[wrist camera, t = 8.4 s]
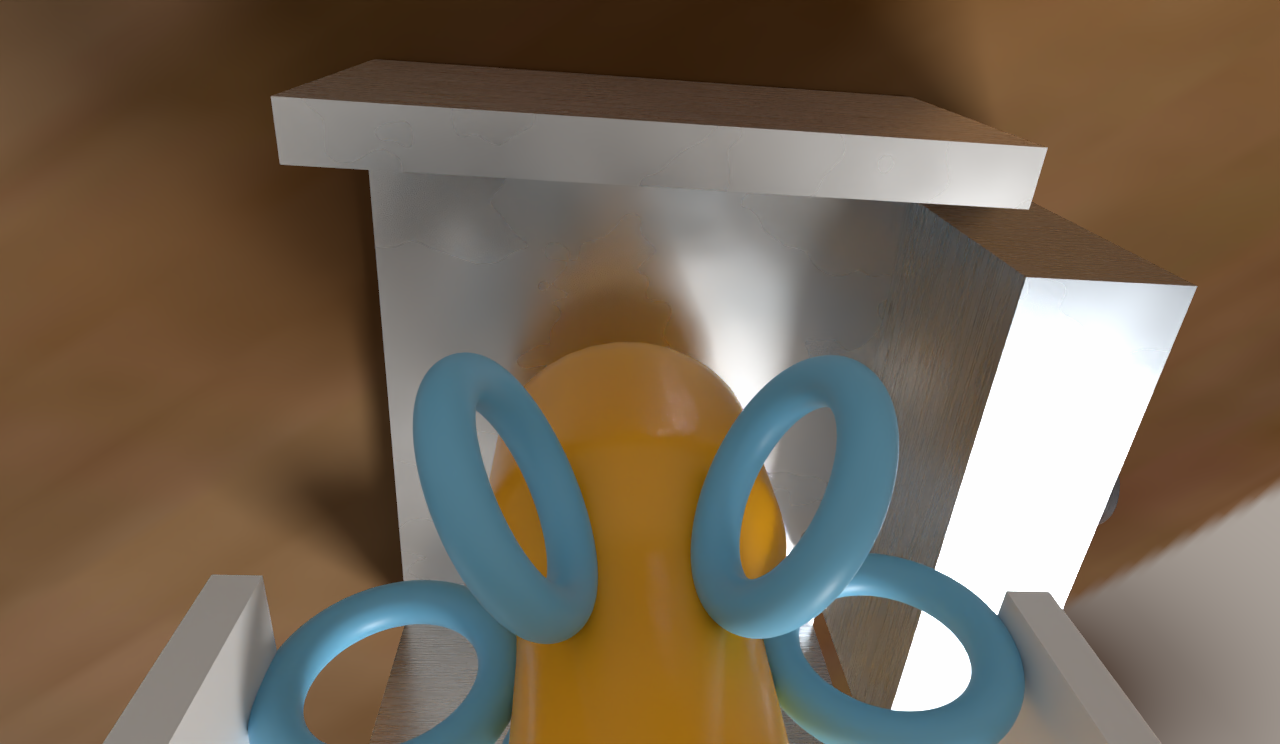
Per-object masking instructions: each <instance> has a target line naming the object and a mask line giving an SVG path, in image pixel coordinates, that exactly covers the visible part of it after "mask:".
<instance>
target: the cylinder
mask: <svg viewBox="0 0 1280 744" xmlns="http://www.w3.org/2000/svg"><path fill="white" fill-rule="evenodd" d="M822 407H829V408H830V409H831V410H832V412H833V414H834V417H835V421H836V430H837V442H836V452H835V458H834V463H833V468H832V472H831V475H830V479H829V482H828V485H827V488H826V491H825V493H824V496H823V498H822V501H821V503H820V505H819V507H818V509H817V511H816V513H815V515H814V517H813V519H812V521H811V523H810V525H809V526H808V528H807V530H806V531H805V533H804V534H803V536H802V537H801V539H800V540H799V542H798V543H797V544H796V546H795V547H794V548H793V549H792V551H791V552H790V553H789V554H788V555H787V556H786V553H787V542H786V532H785V527H784V522H783V518H782V514H781V511H780V508H779V505H778V502H777V499H776V496H775V493H774V491H773V488H772V485H771V482H770V480H769V477H768V474H767V471H766V469H765V466H764V462H765V461H766V459H767V457H768V456H769V454H770V453H771V451H772V450H773V448H774V447H775V445H776V444H777V443H778V441H779V440H780V439H781V438H782V436H783V435H784V434H785V433H786V432H787V431H788V430H789V429H790V428H791V427H792V426H793V425H794V424H795V423H796V422H797V421H798V420H800V419H801V418H802V417H804V416H805V415H807V414H808V413H810V412H812V411H814V410H816V409H818V408H822ZM476 411H477V412H479V413H480V414H481V415H482V416H483V417H484V418H485V419H486V420H487V421H488V422H489V423H490V424H491V425H492V426H493V428H494V429H495V430H496V431H497V433H498V434H499V435H498V439H497V443H496V448H495V453H494V458H493V463H492V468H491V473H490V478H489V479H488V476H487V473H486V470H485V467H484V463H483V459H482V456H481V452H480V447H479V442H478V437H477V430H476ZM413 444H414V453H415V459H416V465H417V470H418V475H419V479H420V483H421V487H422V490H423V494H424V497H425V500H426V504H427V507H428V509H429V512H430V515H431V518H432V520H433V523H434V525H435V528H436V530H437V533H438V535H439V537H440V539H441V541H442V544H443V546H444V548H445V550H446V552H447V554H448V556H449V557H450V559H451V561H452V563H453V565H454V567H455V568H456V570H457V572H458V573H459V575H460V577H461V578H462V580H463V581H464V583H465V584H466V586H464V585H461V584H457V583H452V582H447V581H438V580H410V581H402V582H395V583H390V584H385V585H381V586H377V587H374V588H371V589H368V590H365V591H362V592H359V593H357V594H354V595H352V596H349V597H347V598H345V599H343V600H341V601H339V602H337V603H335V604H333V605H332V606H330V607H328V608H326V609H325V610H323V611H322V612H320V613H318V614H317V615H316V616H314V617H313V618H311V619H310V620H309V621H307V622H306V623H305V624H304V625H302V626H301V627H300V628H299V629H298V630H296V631H295V632H294V633H293V634H292V635H291V636H290V637H289V638H288V639H287V640H286V641H285V642H284V643H283V644H282V646H281V647H280V648H279V649H278V650H277V653H276V654H275V656H274V658H273V660H272V662H271V664H270V666H269V668H268V670H267V672H266V674H265V676H264V678H263V681H262V683H261V685H260V688H259V690H258V692H257V695H256V698H255V700H254V703H253V706H252V709H251V713H250V717H249V721H248V737H249V743H250V744H325V743H323V742H322V741H320V740H318V739H317V738H316V737H315V736H314V735H313V734H312V733H311V732H310V731H309V729H308V728H307V726H306V724H305V721H304V715H303V707H304V701H305V698H306V695H307V692H308V690H309V688H310V686H311V684H312V682H313V681H314V679H315V678H316V676H317V675H318V674H319V673H320V671H321V670H322V669H323V668H324V667H325V666H326V665H327V664H328V663H329V662H330V661H331V660H332V659H333V658H334V657H335V656H337V655H338V654H339V653H340V652H342V651H343V650H345V649H346V648H347V647H349V646H351V645H352V644H354V643H356V642H357V641H359V640H361V639H363V638H365V637H367V636H370V635H372V634H374V633H377V632H380V631H383V630H386V629H390V628H394V627H398V626H404V625H413V624H428V625H437V626H442V627H445V628H448V629H451V630H454V631H456V632H458V633H459V634H461V635H463V636H464V637H465V638H466V639H467V640H468V641H469V642H470V643H471V644H472V645H473V647H474V649H475V651H476V654H477V657H478V671H477V676H476V679H475V682H474V684H473V686H472V688H471V690H470V692H469V693H468V695H467V696H466V698H465V699H464V700H463V702H462V703H461V704H460V705H459V706H458V707H457V708H456V710H455V711H454V712H452V713H451V714H450V715H449V716H448V717H447V718H446V719H444V720H443V721H442V722H440V723H439V724H438V725H436V726H435V727H433V728H432V729H430V730H428V731H427V732H425V733H423V734H421V735H419V736H417V737H415V738H413V739H410V740H408V741H405V742H403V743H400V744H495V742H496V741H497V740H498V739H499V737H500V736H501V735H502V733H503V732H504V730H505V729H506V727H507V726H508V724H509V722H510V720H511V725H510V729H509V731H508V733H507V734H506V736H505V738H504V740H503V742H502V744H789V741H788V737H787V733H786V729H785V725H784V721H783V717H782V713H781V709H780V707H781V708H782V709H783V711H784V712H785V713H786V714H787V715H788V716H789V717H790V718H791V719H792V720H793V721H794V722H795V723H797V724H798V725H799V726H800V727H801V728H802V729H804V730H805V731H806V732H808V733H809V734H810V735H812V736H813V737H815V738H816V739H818V740H819V741H821V742H822V743H824V744H998V743H999V742H1000V741H1001V740H1002V739H1003V738H1004V737H1005V736H1006V734H1007V733H1008V732H1009V731H1010V729H1011V728H1012V726H1013V725H1014V723H1015V721H1016V719H1017V717H1018V715H1019V713H1020V710H1021V707H1022V703H1023V699H1024V692H1025V676H1024V668H1023V664H1022V660H1021V656H1020V653H1019V651H1018V648H1017V646H1016V643H1015V641H1014V639H1013V638H1012V636H1011V634H1010V632H1009V631H1008V629H1007V627H1006V626H1005V625H1004V623H1003V622H1002V620H1001V619H1000V618H999V617H998V615H997V614H996V613H995V612H994V611H993V610H992V609H991V608H990V607H989V606H988V605H987V604H986V603H985V602H984V601H983V600H982V599H981V598H980V597H979V596H977V595H976V594H975V593H974V592H972V591H971V590H970V589H968V588H967V587H965V586H964V585H962V584H961V583H959V582H958V581H956V580H955V579H953V578H951V577H949V576H947V575H946V574H944V573H942V572H940V571H937V570H935V569H933V568H931V567H928V566H926V565H923V564H920V563H917V562H914V561H911V560H908V559H904V558H900V557H895V556H890V555H884V554H876V553H869V552H870V550H871V548H872V546H873V544H874V542H875V540H876V538H877V536H878V534H879V532H880V529H881V527H882V525H883V522H884V519H885V517H886V514H887V511H888V508H889V505H890V502H891V498H892V494H893V490H894V486H895V481H896V476H897V469H898V461H899V430H898V422H897V417H896V412H895V409H894V405H893V402H892V400H891V397H890V395H889V393H888V391H887V389H886V387H885V386H884V384H883V383H882V381H881V380H880V379H879V378H878V376H877V375H876V374H875V373H874V372H873V371H872V370H870V369H869V368H868V367H867V366H865V365H864V364H862V363H860V362H858V361H856V360H854V359H851V358H848V357H844V356H839V355H822V356H816V357H812V358H808V359H806V360H803V361H800V362H798V363H796V364H794V365H792V366H790V367H789V368H787V369H785V370H784V371H782V372H781V373H780V374H778V375H777V376H776V377H774V378H773V379H772V380H771V381H769V382H768V383H767V384H766V385H765V386H764V387H763V388H762V389H761V390H760V391H759V392H758V393H757V394H756V395H755V396H754V397H753V398H752V399H751V401H750V402H749V403H748V404H747V405H746V407H745V408H744V409H743V408H742V406H741V404H740V402H739V400H738V399H737V397H736V395H735V394H734V392H733V391H732V390H731V388H730V387H729V386H728V385H727V384H726V383H725V382H724V381H723V379H721V378H720V377H719V376H718V375H717V374H716V373H715V372H714V371H713V370H711V369H710V368H709V367H707V366H706V365H704V364H703V363H701V362H699V361H698V360H696V359H694V358H693V357H691V356H688V355H686V354H683V353H681V352H679V351H676V350H674V349H671V348H669V347H665V346H659V345H654V344H650V343H645V342H612V343H607V344H600V345H593V346H589V347H586V348H584V349H581V350H579V351H575V352H572V353H569V354H567V355H565V356H563V357H562V358H560V359H558V360H557V361H555V362H553V363H551V364H550V365H548V366H546V367H545V368H544V369H542V370H541V371H540V372H538V373H537V374H536V375H535V376H534V377H533V378H532V379H530V380H529V381H528V382H527V383H526V384H525V385H524V386H522V384H521V383H520V382H519V381H518V380H517V379H516V378H515V377H514V376H513V375H512V374H511V373H510V372H508V371H507V370H506V369H505V368H504V367H502V366H501V365H500V364H498V363H497V362H495V361H493V360H491V359H490V358H487V357H485V356H482V355H479V354H475V353H467V352H463V353H455V354H451V355H449V356H446V357H444V358H442V359H441V360H439V361H438V362H436V363H435V364H434V365H433V366H432V367H431V368H430V369H429V370H428V372H427V373H426V374H425V376H424V378H423V379H422V381H421V384H420V386H419V388H418V391H417V395H416V399H415V404H414V410H413ZM847 596H876V597H883V598H888V599H892V600H896V601H899V602H902V603H905V604H908V605H910V606H913V607H915V608H917V609H919V610H921V611H923V612H925V613H927V614H928V615H930V616H932V617H933V618H935V619H936V620H938V621H939V622H940V623H942V624H943V625H944V626H945V627H946V628H948V629H949V630H950V631H951V632H952V633H953V634H954V636H955V637H956V638H957V639H958V640H959V642H960V643H961V644H962V646H963V648H964V649H965V651H966V653H967V655H968V658H969V661H970V666H971V676H970V680H969V683H968V685H967V687H966V689H965V690H964V691H963V693H962V694H961V695H960V696H958V697H957V698H956V699H954V700H953V701H951V702H949V703H947V704H945V705H943V706H940V707H936V708H933V709H928V710H920V711H899V710H891V709H885V708H880V707H876V706H873V705H869V704H866V703H864V702H861V701H858V700H856V699H854V698H852V697H850V696H848V695H846V694H844V693H842V692H840V691H839V690H837V689H836V688H834V687H833V686H831V685H830V684H829V683H827V682H826V681H825V680H824V679H823V678H821V677H820V676H819V675H818V674H817V673H816V672H815V671H814V669H813V668H812V667H811V666H810V664H809V663H808V661H807V660H806V658H805V656H804V654H803V652H802V650H801V647H800V642H799V630H800V627H801V626H803V625H804V624H806V623H808V622H809V621H811V620H812V619H813V618H815V617H816V616H817V615H819V614H820V613H821V612H822V611H823V610H825V609H826V608H827V607H828V606H829V605H830V604H831V603H832V602H833V601H834V600H835V599H836V598H841V597H847Z"/></svg>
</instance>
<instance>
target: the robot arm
mask: <svg viewBox="0 0 1280 744" xmlns="http://www.w3.org/2000/svg"><path fill="white" fill-rule="evenodd" d="M997 615H998V617H999V618H1000V619H1001V620H1002V622H1003V623H1004V625H1005V626H1006V627H1007V629H1008V631H1009V632H1010V634H1011V636H1012V638H1013V639H1014V641H1015V643H1016V646H1017V648H1018V651H1019V653H1020V656H1021V660H1022V664H1023V668H1024V676H1025V692H1024V699H1023V703H1022V707H1021V710H1020V713H1019V715H1018V717H1017V719H1016V721H1015V723H1014V725H1013V726H1012V728H1011V729H1010V731H1009V732H1008V733H1007V734H1006V736H1005V737H1004V738H1003V739H1002V740H1001V741H1000V742H999V743H998V744H1162V743H1161V742H1160V741H1159V739H1158V738H1157V737H1156V735H1155V734H1154V733H1153V731H1152V730H1151V729H1150V727H1149V726H1148V724H1147V723H1146V722H1145V720H1144V719H1143V718H1142V716H1141V715H1140V714H1139V712H1138V711H1137V710H1136V708H1135V707H1134V705H1133V704H1132V703H1131V701H1130V700H1129V699H1128V697H1127V696H1126V694H1125V693H1124V692H1123V690H1122V689H1121V688H1120V686H1119V685H1118V684H1117V682H1116V681H1115V680H1114V678H1113V677H1112V676H1111V674H1110V673H1109V671H1108V670H1107V669H1106V668H1105V666H1104V665H1103V663H1102V662H1101V661H1100V659H1099V658H1098V657H1097V655H1096V654H1095V653H1094V651H1093V650H1092V649H1091V647H1090V646H1089V644H1088V643H1087V642H1086V640H1085V639H1084V638H1083V636H1082V635H1081V634H1080V632H1079V631H1078V630H1077V628H1076V627H1075V626H1074V624H1073V623H1072V621H1071V620H1070V619H1069V617H1068V616H1067V615H1066V613H1065V612H1064V611H1063V609H1062V608H1061V606H1060V605H1059V604H1058V602H1057V601H1056V600H1055V598H1054V597H1053V596H1052V594H1051V593H1050V592H1041V591H1006V593H1005V595H1004V598H1003V601H1002V604H1001V606H1000V609H999V612H998V614H997ZM276 653H277V650H276V644H275V639H274V634H273V629H272V623H271V618H270V613H269V608H268V602H267V597H266V592H265V586H264V581H263V576H250V575H211V577H210V578H209V580H208V581H207V583H206V584H205V586H204V588H203V589H202V591H201V592H200V594H199V595H198V597H197V598H196V600H195V601H194V603H193V605H192V606H191V608H190V609H189V611H188V612H187V614H186V615H185V617H184V619H183V620H182V622H181V623H180V625H179V626H178V628H177V629H176V631H175V632H174V634H173V636H172V637H171V639H170V640H169V642H168V643H167V645H166V646H165V648H164V650H163V651H162V653H161V654H160V656H159V657H158V659H157V660H156V662H155V663H154V665H153V667H152V668H151V670H150V671H149V673H148V674H147V676H146V677H145V679H144V681H143V682H142V684H141V685H140V687H139V688H138V690H137V691H136V693H135V694H134V696H133V698H132V699H131V701H130V702H129V704H128V705H127V707H126V708H125V710H124V712H123V713H122V715H121V716H120V718H119V719H118V721H117V722H116V724H115V726H114V727H113V729H112V730H111V732H110V733H109V735H108V736H107V738H106V739H105V741H104V743H103V744H250V743H249V737H248V721H249V717H250V713H251V709H252V706H253V703H254V700H255V698H256V695H257V692H258V690H259V688H260V685H261V683H262V681H263V678H264V676H265V674H266V672H267V670H268V668H269V666H270V664H271V662H272V660H273V658H274V656H275V654H276Z"/></svg>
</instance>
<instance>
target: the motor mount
mask: <svg viewBox="0 0 1280 744" xmlns="http://www.w3.org/2000/svg"><path fill="white" fill-rule="evenodd" d="M271 102H272V110H273V117H274V124H275V132H276V139H277V146H278V154H279V161H280V165H296V166H313V167H329V168H346V169H362V170H369V179H370V191H371V203H372V215H373V227H374V238H375V250H376V262H377V274H378V285H379V297H380V309H381V321H382V332H383V344H384V356H385V368H386V379H387V391H388V403H389V415H390V426H391V438H392V450H393V462H394V474H395V485H396V497H397V509H398V521H399V532H400V544H401V556H402V568H403V579H404V581H410V580H438V581H447V582H452V583H457V584H461V585H464V586H466V584H465V583H464V581H463V580H462V578H461V577H460V575H459V573H458V572H457V570H456V568H455V567H454V565H453V563H452V561H451V559H450V557H449V556H448V554H447V552H446V550H445V548H444V546H443V544H442V541H441V539H440V537H439V535H438V533H437V530H436V528H435V525H434V523H433V520H432V518H431V515H430V512H429V509H428V507H427V504H426V500H425V497H424V494H423V490H422V487H421V483H420V479H419V475H418V470H417V465H416V459H415V453H414V444H413V410H414V404H415V399H416V395H417V391H418V388H419V386H420V384H421V381H422V379H423V378H424V376H425V374H426V373H427V372H428V370H429V369H430V368H431V367H432V366H433V365H434V364H435V363H436V362H438V361H439V360H441V359H442V358H444V357H446V356H449V355H451V354H455V353H463V352H467V353H475V354H479V355H482V356H485V357H487V358H490V359H491V360H493V361H495V362H497V363H498V364H500V365H501V366H502V367H504V368H505V369H506V370H507V371H508V372H510V373H511V374H512V375H513V376H514V377H515V378H516V379H517V380H518V381H519V382H520V383H521V384H522V386H524V385H525V384H526V383H527V382H528V381H529V380H530V379H532V378H533V377H534V376H535V375H536V374H537V373H538V372H540V371H541V370H542V369H544V368H545V367H546V366H548V365H550V364H551V363H553V362H555V361H557V360H558V359H560V358H562V357H563V356H565V355H567V354H569V353H572V352H575V351H579V350H581V349H584V348H586V347H589V346H593V345H600V344H607V343H612V342H645V343H650V344H654V345H659V346H665V347H669V348H671V349H674V350H676V351H679V352H681V353H683V354H686V355H688V356H691V357H693V358H694V359H696V360H698V361H699V362H701V363H703V364H704V365H706V366H707V367H709V368H710V369H711V370H713V371H714V372H715V373H716V374H717V375H718V376H719V377H720V378H721V379H723V381H724V382H725V383H726V384H727V385H728V386H729V387H730V388H731V390H732V391H733V392H734V394H735V395H736V397H737V399H738V400H739V402H740V404H741V406H742V408H743V409H744V408H745V407H746V405H747V404H748V403H749V402H750V401H751V399H752V398H753V397H754V396H755V395H756V394H757V393H758V392H759V391H760V390H761V389H762V388H763V387H764V386H765V385H766V384H767V383H768V382H769V381H771V380H772V379H773V378H774V377H776V376H777V375H778V374H780V373H781V372H782V371H784V370H785V369H787V368H789V367H790V366H792V365H794V364H796V363H798V362H800V361H803V360H806V359H808V358H812V357H816V356H822V355H839V356H844V357H848V358H851V359H854V360H856V361H858V362H860V363H862V364H864V365H865V366H867V367H868V368H869V369H870V370H872V371H873V372H874V373H875V374H876V375H877V376H878V378H879V379H880V380H881V381H882V383H883V384H884V386H885V387H886V389H887V391H888V393H889V395H890V397H891V400H892V402H893V405H894V409H895V412H896V417H897V422H898V430H899V461H898V469H897V476H896V481H895V486H894V490H893V494H892V498H891V502H890V505H889V508H888V511H887V514H886V517H885V519H884V522H883V525H882V527H881V529H880V532H879V534H878V536H877V538H876V540H875V542H874V544H873V546H872V548H871V550H870V552H869V553H876V554H884V555H890V556H895V557H900V558H904V559H908V560H911V561H914V562H917V563H920V564H923V565H926V566H928V567H931V568H933V569H935V570H937V571H940V572H942V573H944V574H946V575H947V576H949V577H951V578H953V579H955V580H956V581H958V582H959V583H961V584H962V585H964V586H965V587H967V588H968V589H970V590H971V591H972V592H974V593H975V594H976V595H977V596H979V597H980V598H981V599H982V600H983V601H984V602H985V603H986V604H987V605H988V606H989V607H990V608H991V609H992V610H993V611H994V612H995V613H996V614H998V612H999V609H1000V606H1001V604H1002V601H1003V598H1004V595H1005V593H1006V591H1041V592H1050V593H1051V594H1052V596H1053V597H1054V598H1055V600H1056V601H1057V602H1058V604H1059V605H1060V606H1061V608H1063V606H1064V603H1065V601H1066V599H1067V596H1068V594H1069V591H1070V589H1071V587H1072V584H1073V582H1074V579H1075V577H1076V575H1077V572H1078V570H1079V568H1080V565H1081V563H1082V560H1083V558H1084V556H1085V553H1086V551H1087V548H1088V546H1089V544H1090V541H1091V539H1092V536H1093V534H1094V532H1095V529H1096V527H1097V524H1101V523H1103V522H1105V521H1106V520H1107V519H1108V518H1109V517H1110V516H1111V515H1112V513H1113V512H1114V510H1115V508H1116V505H1117V502H1118V498H1119V491H1120V480H1119V472H1120V469H1121V467H1122V465H1123V462H1124V460H1125V458H1126V455H1127V453H1128V450H1129V448H1130V446H1131V443H1132V441H1133V438H1134V436H1135V434H1136V431H1137V429H1138V426H1139V424H1140V422H1141V419H1142V417H1143V414H1144V412H1145V410H1146V407H1147V405H1148V403H1149V400H1150V398H1151V395H1152V393H1153V391H1154V388H1155V386H1156V383H1157V381H1158V379H1159V376H1160V374H1161V371H1162V369H1163V367H1164V364H1165V362H1166V360H1167V357H1168V355H1169V352H1170V350H1171V348H1172V345H1173V343H1174V340H1175V338H1176V336H1177V333H1178V331H1179V328H1180V326H1181V324H1182V321H1183V319H1184V316H1185V314H1186V312H1187V309H1188V307H1189V305H1190V302H1191V300H1192V297H1193V295H1194V293H1195V290H1196V288H1197V286H1196V285H1194V284H1192V283H1190V282H1188V281H1186V280H1184V279H1182V278H1180V277H1178V276H1176V275H1174V274H1172V273H1170V272H1168V271H1166V270H1164V269H1162V268H1160V267H1158V266H1157V265H1155V264H1153V263H1151V262H1149V261H1147V260H1145V259H1143V258H1141V257H1139V256H1137V255H1135V254H1133V253H1131V252H1129V251H1127V250H1125V249H1123V248H1121V247H1119V246H1117V245H1115V244H1114V243H1112V242H1110V241H1108V240H1106V239H1104V238H1102V237H1100V236H1098V235H1096V234H1094V233H1092V232H1090V231H1088V230H1086V229H1084V228H1082V227H1080V226H1078V225H1076V224H1074V223H1072V222H1071V221H1069V220H1067V219H1065V218H1063V217H1061V216H1059V215H1057V214H1055V213H1053V212H1051V211H1049V210H1047V209H1045V208H1043V207H1041V206H1039V205H1037V204H1035V203H1033V202H1031V201H1032V198H1033V195H1034V191H1035V188H1036V185H1037V181H1038V178H1039V175H1040V171H1041V168H1042V165H1043V161H1044V158H1045V155H1046V151H1047V147H1044V146H1042V145H1039V144H1036V143H1034V142H1031V141H1028V140H1026V139H1023V138H1020V137H1018V136H1015V135H1012V134H1009V133H1007V132H1004V131H1001V130H999V129H996V128H993V127H991V126H988V125H985V124H983V123H980V122H977V121H975V120H972V119H969V118H967V117H964V116H961V115H959V114H956V113H953V112H951V111H948V110H945V109H943V108H940V107H937V106H935V105H932V104H929V103H926V102H924V101H921V100H918V99H916V98H913V97H905V96H891V95H877V94H863V93H849V92H834V91H820V90H806V89H792V88H778V87H764V86H749V85H735V84H721V83H707V82H693V81H679V80H665V79H650V78H636V77H622V76H608V75H594V74H580V73H566V72H551V71H537V70H523V69H509V68H495V67H481V66H466V65H452V64H438V63H424V62H410V61H396V60H382V59H374V60H371V61H368V62H365V63H362V64H360V65H357V66H354V67H351V68H348V69H345V70H343V71H340V72H337V73H334V74H331V75H329V76H326V77H323V78H320V79H317V80H315V81H312V82H309V83H306V84H303V85H300V86H298V87H295V88H292V89H289V90H286V91H284V92H281V93H278V94H275V95H272V96H271ZM476 430H477V437H478V442H479V447H480V452H481V456H482V459H483V463H484V467H485V470H486V473H487V476H488V479H489V478H490V473H491V468H492V463H493V458H494V453H495V448H496V443H497V439H498V435H499V434H498V433H497V431H496V430H495V429H494V428H493V426H492V425H491V424H490V423H489V422H488V421H487V420H486V419H485V418H484V417H483V416H482V415H481V414H480V413H479V412H477V411H476ZM836 442H837V430H836V421H835V417H834V414H833V412H832V410H831V409H830V408H829V407H822V408H818V409H816V410H814V411H812V412H810V413H808V414H807V415H805V416H804V417H802V418H801V419H800V420H798V421H797V422H796V423H795V424H794V425H793V426H792V427H791V428H790V429H789V430H788V431H787V432H786V433H785V434H784V435H783V436H782V438H781V439H780V440H779V441H778V443H777V444H776V445H775V447H774V448H773V450H772V451H771V453H770V454H769V456H768V457H767V459H766V461H765V462H764V466H765V469H766V471H767V474H768V477H769V480H770V482H771V485H772V488H773V491H774V493H775V496H776V499H777V502H778V505H779V508H780V511H781V514H782V518H783V522H784V527H785V532H786V542H787V553H786V556H787V555H788V554H789V553H790V552H791V551H792V549H793V548H794V547H795V546H796V544H797V543H798V542H799V540H800V539H801V537H802V536H803V534H804V533H805V531H806V530H807V528H808V526H809V525H810V523H811V521H812V519H813V517H814V515H815V513H816V511H817V509H818V507H819V505H820V503H821V501H822V498H823V496H824V493H825V491H826V488H827V485H828V482H829V479H830V475H831V472H832V468H833V463H834V458H835V452H836ZM822 612H823V615H824V618H825V620H826V623H827V626H828V629H829V632H830V634H831V637H832V640H833V643H834V646H835V649H836V651H837V654H838V657H839V660H840V663H841V665H842V668H843V671H844V674H845V677H846V679H847V682H848V685H849V688H850V691H851V694H852V696H853V698H854V699H856V700H858V701H861V702H864V703H866V704H869V705H873V706H876V707H880V708H885V709H891V710H899V711H920V710H928V709H933V708H936V707H940V706H943V705H945V704H947V703H949V702H951V701H953V700H954V699H956V698H957V697H958V696H960V695H961V694H962V693H963V691H964V690H965V689H966V687H967V685H968V683H969V680H970V676H971V666H970V661H969V658H968V655H967V653H966V651H965V649H964V648H963V646H962V644H961V643H960V642H959V640H958V639H957V638H956V637H955V636H954V634H953V633H952V632H951V631H950V630H949V629H948V628H946V627H945V626H944V625H943V624H942V623H940V622H939V621H938V620H936V619H935V618H933V617H932V616H930V615H928V614H927V613H925V612H923V611H921V610H919V609H917V608H915V607H913V606H910V605H908V604H905V603H902V602H899V601H896V600H892V599H888V598H883V597H876V596H847V597H841V598H836V599H835V600H834V601H833V602H832V603H831V604H830V605H829V606H828V607H827V608H826V609H825V610H823V611H822ZM813 620H814V618H813V619H812V620H811V621H809V622H808V623H806V624H804V625H803V626H801V627H800V630H799V642H800V647H801V650H802V652H803V654H804V656H805V658H806V660H807V661H808V663H809V664H810V666H811V667H812V668H813V669H814V671H815V672H816V673H817V674H818V675H819V676H820V677H821V678H823V679H824V680H825V681H826V682H827V683H829V684H830V685H831V686H833V685H832V682H831V679H830V676H829V673H828V670H827V667H826V664H825V661H824V658H823V655H822V652H821V649H820V646H819V643H818V640H817V637H816V634H815V631H814V628H813ZM477 671H478V657H477V654H476V651H475V649H474V647H473V645H472V644H471V643H470V642H469V641H468V640H467V639H466V638H465V637H464V636H463V635H461V634H459V633H458V632H456V631H454V630H451V629H448V628H445V627H442V626H437V625H428V624H413V625H405V626H404V629H403V632H402V636H401V639H400V642H399V646H398V649H397V652H396V656H395V659H394V662H393V666H392V669H391V672H390V676H389V679H388V682H387V686H386V689H385V692H384V696H383V699H382V702H381V706H380V709H379V712H378V716H377V719H376V722H375V726H374V729H373V732H372V736H371V739H370V742H369V744H400V743H403V742H405V741H408V740H410V739H413V738H415V737H417V736H419V735H421V734H423V733H425V732H427V731H428V730H430V729H432V728H433V727H435V726H436V725H438V724H439V723H440V722H442V721H443V720H444V719H446V718H447V717H448V716H449V715H450V714H451V713H452V712H454V711H455V710H456V708H457V707H458V706H459V705H460V704H461V703H462V702H463V700H464V699H465V698H466V696H467V695H468V693H469V692H470V690H471V688H472V686H473V684H474V682H475V679H476V676H477ZM780 709H781V713H782V717H783V721H784V725H785V729H786V733H787V737H788V741H789V744H824V743H822V742H821V741H819V740H818V739H816V738H815V737H813V736H812V735H810V734H809V733H808V732H806V731H805V730H804V729H802V728H801V727H800V726H799V725H798V724H797V723H795V722H794V721H793V720H792V719H791V718H790V717H789V716H788V715H787V714H786V713H785V712H784V711H783V709H782V708H781V707H780ZM510 725H511V720H510V722H509V724H508V726H507V727H506V729H505V730H504V732H503V733H502V735H501V736H500V737H499V739H498V740H497V741H496V742H495V744H502V742H503V740H504V738H505V736H506V734H507V733H508V731H509V729H510Z"/></svg>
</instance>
